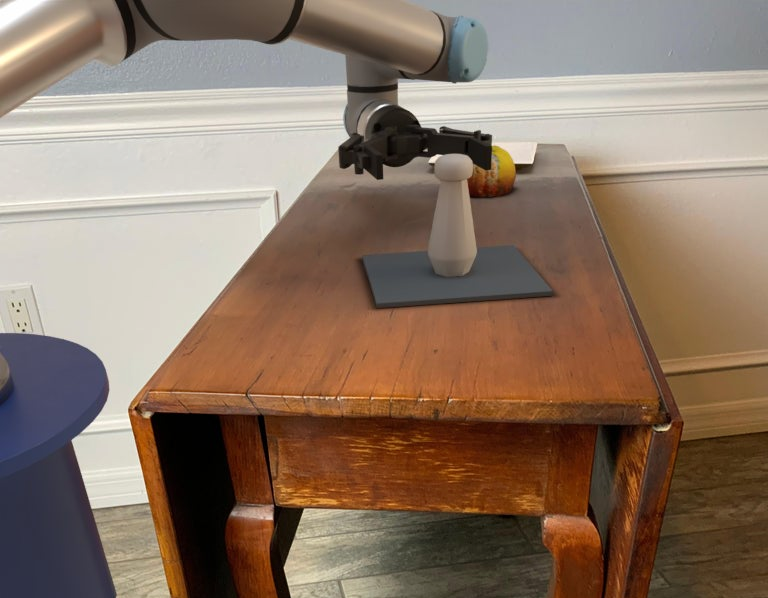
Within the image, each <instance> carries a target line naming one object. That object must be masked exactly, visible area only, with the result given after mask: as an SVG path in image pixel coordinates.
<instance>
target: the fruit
mask: <svg viewBox="0 0 768 598" xmlns="http://www.w3.org/2000/svg"><path fill="white" fill-rule="evenodd" d="M516 171H517V170H516ZM516 171H515V165H514V162H513V159H512V157H511V156H510V154H509V153H508V152H507V151H506V150H504V149H502V148H500V147H499V146H492V162H491V170H484V169H482V168H480V167H478V166H477V165H475V164H473V173H472V176H471V177H470V178H468V179H467V183H468V190H469V197H474V198H492V197H500V196H505V195H507V194H509V193H510V192H511V191H512V189H513V188H514V186H515V181H516V175H517V172H516Z"/></svg>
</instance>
